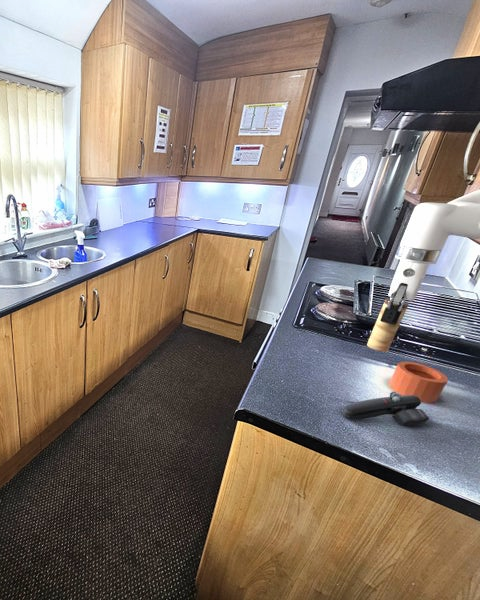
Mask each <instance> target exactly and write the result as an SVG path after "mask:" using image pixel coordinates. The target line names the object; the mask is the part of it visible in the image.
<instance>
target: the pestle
mask: <svg viewBox="0 0 480 600" xmlns="http://www.w3.org/2000/svg"><path fill="white" fill-rule="evenodd" d="M390 299H391V298H390V297H387V298H385V300H384V302H383V304H382V306H381V309H380V311H379V314H378V317H377V319H376V321H375V323H374V326H373V327H372V331H371V333H370V335H369V338H368V341H367V343H366V346H367V347H368V348H370V349H372V350H375V351H377V352H384V353H385V352H389V350H390V347H391V345H392V344H393V343H392V342H393V340H394V339H395V336H396V334H397V332H398V329H399V328H400V325H401V323H402V320H403V318H404V316H405V314H406V312H407V309H408V307H409V303H408V302H406V301H405V302H404V304H403V307H402V309H401V311H402V312H401V314H400V317H399V319H398V321H397V323H396V325H392V324H389V323H385V322H381V321H380V320H381V317H382V315H383V312H384V310H385V308H386V307H387V306H388V303H389V301H390ZM393 301H394V300H393ZM401 302H402V301H400V303H401Z"/></svg>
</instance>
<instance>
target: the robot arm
mask: <svg viewBox="0 0 480 600" xmlns="http://www.w3.org/2000/svg"><path fill="white" fill-rule="evenodd" d="M450 236H456V237H461V238H466V239H467V238H468V239H473V240H480V189H478V190H475V191H472V192H470V193H467V194H464V195H463V196H460V197H458V198H455V199H453V200H451V201H448V202H447V203H445V202H433V201H432V202H431V201H430V202H429V201H428V202H420V203H418V204H417V205H415V207H414V209H413V212H412V214H411V215H410V219H409V221H408V223H407V227H406V229H405V231H404V234H403V237H402V239H401V241H400V244H399V246H398V248H397V251H396V254H395V256H394V258H395V259H398V260H399V262H398V265H397V267H396V270H395V272H394V275H393V278H392V281H391V284H390V288H389V291H388V298H391V299H390V301H389V303H388V306H387V307H386V308H385V310H384V312H383V315H382V317H381V320H380V321H381V322H385V323H389V324H392V325H396V323H397V321H398V319H399V317H400V314H401V312H402V311H401V309H402V307H403V304H404V302H406V301H409V303H412V302H414V301H415V299H416V296H417V294H418V293H419V290H420V287H421V286H422V284H423V281H424V279H425V276H426V274H427V272H428V270H429V265H436V264H437V262H438V260H439V258H440V256H441V254H442V251H443V250H444V247H445V245H446V242H447V240H448V239H449V237H450ZM393 300H394V301H393ZM400 301H402V302H401V303H400Z"/></svg>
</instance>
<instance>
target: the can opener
mask: <svg viewBox="0 0 480 600" xmlns="http://www.w3.org/2000/svg"><path fill="white" fill-rule="evenodd" d="M420 405H422V402H421V400H420V399H419V398H418V397H417V396H415V395H405V396H403V395H401V394H399V393H397V392H396V391H394V390H393V391H391V392H390V393H389V396H385V397H376V398H371V399H365V400H360V401H355V402H351V403H348V404H346V405H345V410H344V411H342V414H341V415H342V416H343V418H344V419H347V420H350V421H351V420H354V421H355V420H365V419H370V418H377V417H381V416H385V415H392V417H391V418H392V419H393V420H395V421H396V422H398V423H399V424H400V425H402V426H417V425H421V424H424V423H426V422H428V421H429V420H430V417H429V416H428V415H427V414H426V413H425V411H424V410H423V409H421V408H418V407H420Z"/></svg>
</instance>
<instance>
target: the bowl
mask: <svg viewBox="0 0 480 600" xmlns="http://www.w3.org/2000/svg"><path fill="white" fill-rule="evenodd" d="M448 381H449V379H448V377H447V376H446V374H444V373H443V372H441V371H439V370H437V369H435V368H433V367H431V366H428V365H425V364H421V363H418V362H413V361H400V362H398V363H397V365H396V368H395V370H394V372H393V374H392V376H391V378H390V380H389V382H388V385H389V387H390V389H392V390H393V392H394V391H395V392H396V393H399V394H400V395H402V396H405V395H415V396H417V397H418V398H419V399H420V400H421V403H425V404H426V403H427V404H433V403H436V402H438V400H439V398H440V396H441V394H442V392H443V390H444V388H445V387H446V385H447V383H448Z"/></svg>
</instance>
